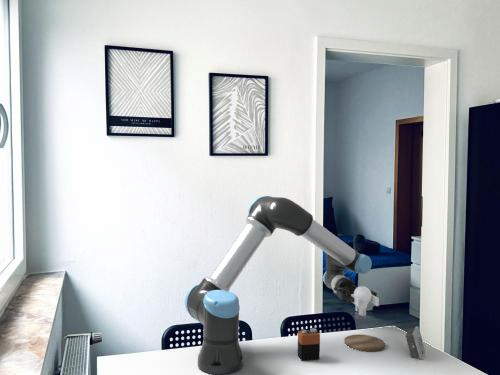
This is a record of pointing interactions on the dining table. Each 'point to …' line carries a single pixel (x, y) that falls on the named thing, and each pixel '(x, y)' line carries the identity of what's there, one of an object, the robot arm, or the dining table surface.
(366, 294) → the lightbulb
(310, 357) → the battery
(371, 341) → the board
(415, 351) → the electrical switch
